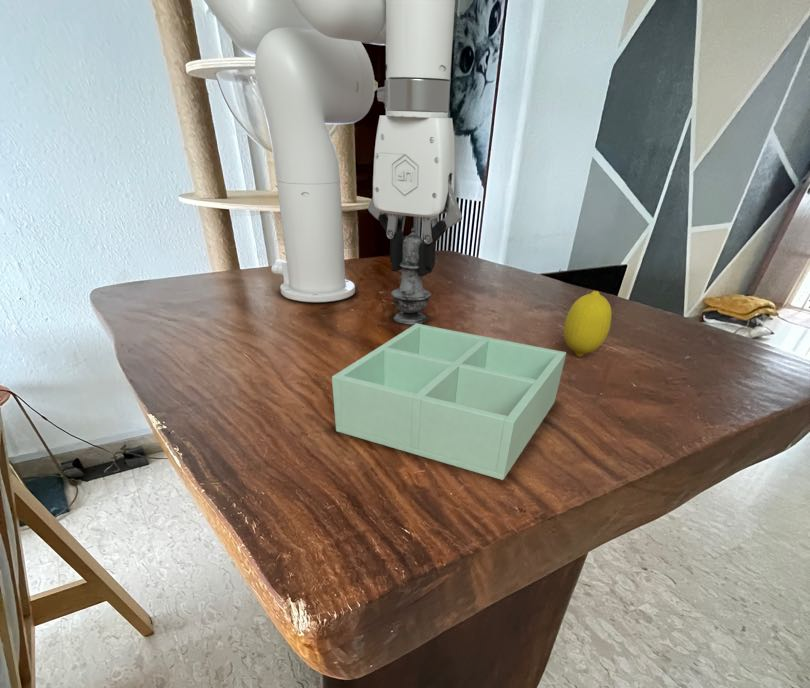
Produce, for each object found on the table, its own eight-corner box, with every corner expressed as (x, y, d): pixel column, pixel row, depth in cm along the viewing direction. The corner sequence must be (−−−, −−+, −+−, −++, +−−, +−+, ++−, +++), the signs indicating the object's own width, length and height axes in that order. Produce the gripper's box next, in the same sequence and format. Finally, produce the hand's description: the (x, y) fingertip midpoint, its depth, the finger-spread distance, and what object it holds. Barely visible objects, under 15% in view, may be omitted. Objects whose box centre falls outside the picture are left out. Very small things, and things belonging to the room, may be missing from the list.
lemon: (594, 368, 62) (613, 300, 57) (551, 358, 64) (566, 292, 59) (605, 354, 66) (624, 289, 60) (565, 345, 68) (580, 282, 62)
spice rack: (335, 431, 49) (331, 376, 45) (414, 370, 60) (416, 323, 57) (503, 480, 43) (513, 422, 39) (554, 402, 54) (566, 352, 51)
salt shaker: (426, 326, 72) (431, 232, 64) (387, 323, 73) (387, 229, 65) (432, 314, 77) (437, 224, 69) (395, 311, 78) (396, 221, 70)
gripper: (341, 98, 59) (349, 269, 71) (470, 102, 53) (454, 286, 65) (373, 100, 64) (375, 259, 76) (493, 104, 58) (475, 274, 70)
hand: (412, 270), depth 71 cm, fingers closed on salt shaker, 3 cm apart
